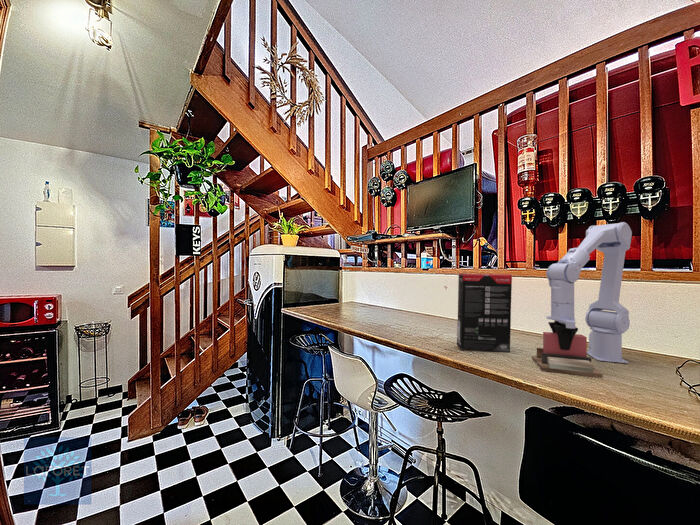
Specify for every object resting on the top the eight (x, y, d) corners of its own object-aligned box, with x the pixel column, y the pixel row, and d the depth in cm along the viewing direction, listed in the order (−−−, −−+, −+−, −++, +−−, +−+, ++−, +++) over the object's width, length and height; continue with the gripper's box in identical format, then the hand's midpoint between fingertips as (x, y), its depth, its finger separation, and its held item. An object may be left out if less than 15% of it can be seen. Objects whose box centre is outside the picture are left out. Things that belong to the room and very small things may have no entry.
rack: (532, 358, 95) (532, 346, 96) (584, 364, 91) (584, 351, 91) (542, 371, 84) (542, 357, 84) (602, 377, 79) (602, 363, 79)
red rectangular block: (543, 357, 92) (543, 331, 92) (581, 361, 89) (581, 334, 89) (546, 360, 89) (546, 334, 89) (586, 364, 85) (586, 337, 85)
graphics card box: (504, 347, 109) (504, 273, 109) (512, 353, 102) (512, 274, 102) (456, 346, 110) (456, 273, 110) (461, 351, 103) (461, 273, 104)
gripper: (540, 299, 97) (540, 340, 97) (554, 305, 84) (554, 353, 83) (566, 300, 95) (566, 342, 95) (584, 306, 81) (584, 355, 81)
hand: (562, 347), depth 89 cm, fingers closed on red rectangular block, 3 cm apart
